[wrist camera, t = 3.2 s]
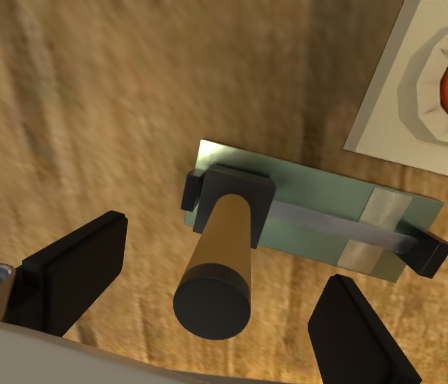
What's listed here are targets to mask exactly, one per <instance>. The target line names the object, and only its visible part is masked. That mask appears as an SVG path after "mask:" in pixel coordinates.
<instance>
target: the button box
mask: <svg viewBox="0 0 448 384" xmlns="http://www.w3.org/2000/svg"><path fill="white" fill-rule="evenodd" d="M447 69H448V0H404V3H403V5H402V8H401V10H400V12H399V15H398V17H397V20H396V22H395V25H394V27H393V29H392V32H391V34H390V37H389V39H388V41H387V44H386V46H385V49H384V51H383V53H382V56H381V58H380V61H379V63H378V66H377V68H376V70H375V73H374V75H373V78H372V80H371V82H370V85H369V87H368V90H367V92H366V94H365V97H364V99H363V102H362V104H361V107H360V109H359V111H358V114H357V116H356V119H355V121H354V123H353V126H352V128H351V131H350V133H349V135H348V138H347V140H346V143H345V145H344V148H343V149H344V150H348V151H352V152H356V153H360V154H364V155H367V156H371V157H375V158H379V159H383V160H387V161H391V162H395V163H399V164H403V165H406V166H410V167H414V168H418V169H422V170H426V171H430V172H434V173H438V174H441V175H445V176H448V112H447V110H446V109H445V107H444V106H443V103H442V100H441V84H442V81H443V77H444V75H445V73H446V71H447Z"/></svg>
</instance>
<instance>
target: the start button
mask: <svg viewBox="0 0 448 384" xmlns="http://www.w3.org/2000/svg"><path fill="white" fill-rule="evenodd" d="M441 100H442V103H443V106H444V107H445V109H446V110H447V112H448V69H447V71H446V73H445V75H444V77H443V81H442V84H441Z"/></svg>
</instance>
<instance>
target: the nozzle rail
mask: <svg viewBox="0 0 448 384" xmlns="http://www.w3.org/2000/svg"><path fill="white" fill-rule="evenodd" d="M211 164H216V165H220V166H223V167H227V168H231V169H235V170H238V171H242V172H246V173H250V174H253V175H257V176H261V177H265V178H269V179H272V180H273V181H274V183H275V185H276V188H277V189H276V192H275V195H274V198H273V201H272V204H271V207H270V210H269V213H268V216H267V219H266V222H265V225H264V227H263V230H262V233H261V236H260V239H259V242H258V245H262V246H265V247H269V248H272V249H276V250H279V251H283V252H287V253H290V254H294V255H297V256H301V257H304V258H308V259H312V260H315V261H319V262H322V263H326V264H330V265H333V266H337V267H340V268H344V269H347V270H351V271H355V272H358V273H362V274H365V275H369V276H372V277H376V278H380V279H383V280H387V281H390V282H394V283H396V281H397V280H398V278H399V276H400V275H401V273H402V272H403V270H404V268H405V267H406V265H408V266H409V267H410V268H411V269H413V270H414V271H415V272H416V273H417V274H418V275H420V276H424V277H427V278H431V279H432V278H433V276H434V275H435V273H436V272H437V271H438V269H439V268H440V266H441V265H442V263H443V262H444V260H445V259H446V257H447V256H448V242H447V241H445V240H443V239H442V238H440V237H438V236H436V235H435V234H433V233H431V232H430V231H428V229H429V227H430V226H431V224H432V223H433V221H434V219H435V218H436V216H437V214H438V213H439V211H440V209H441V208H442V206H443V205H444V202H441V201H438V200H436V199H433V198H430V197H426V196H422V195H418V194H415V193H411V192H407V191H403V190H399V189H395V188H392V187H388V186H384V185H380V184H376V183H373V182H369V181H365V180H361V179H357V178H353V177H350V176H346V175H342V174H338V173H334V172H330V171H327V170H323V169H319V168H315V167H311V166H308V165H304V164H300V163H296V162H292V161H288V160H285V159H281V158H277V157H273V156H269V155H265V154H262V153H258V152H254V151H250V150H246V149H243V148H239V147H235V146H231V145H227V144H223V143H220V142H216V141H212V140H208V139H201V142H200V147H199V152H198V157H197V161H196V166H195V169H193V170H192V171H191V172H189V173H188V174H187V178H186V183H185V188H184V194H183V199H182V204H181V209H182V210H185V211H186V215H185V220H184V224H186V225H190V226H194V222H195V218H196V213H197V209H198V204H199V200H200V195H201V191H202V186H203V182H204V177H205V173H206V169H207V168H208V167H209V166H210V165H211Z"/></svg>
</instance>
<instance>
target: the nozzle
mask: <svg viewBox="0 0 448 384" xmlns="http://www.w3.org/2000/svg"><path fill="white" fill-rule="evenodd" d="M276 189H277V188H276V185H275V183H274V181H273V180H272V179H269V178H265V177H261V176H257V175H253V174H250V173H246V172H242V171H238V170H235V169H231V168H227V167H223V166H220V165H216V164H211V165H210V166H209V167H208V168H207V169H206V173H205V177H204V182H203V186H202V191H201V195H200V200H199V204H198V209H197V213H196V218H195V222H194V227H193V232H196V233H200V234H202V235H201V237H200V239H199V242H198V244H197V246H196V248H195V250H194V253H193V255H192V257H191V259H190V261H189V264H188V266H187V268H186V270H185V272H184V275H183V277H182V279H181V281H180V283H179V286H178V288H177V290H176V292H175V295H174V298H173V309H174V313H175V316H176V317H177V319H178V321H179V322H180V324H181V325H182V326H183V327H184V328H185V329H186V330H188V331H189V332H191V333H192V334H194V335H196V336H198V337H201V338H205V339H209V340H224V339H228V338H231V337H234V336H236V335H237V334H239V333H240V332H242V330H243V329H244V328H245V327H246V325H247V324H248V322H249V319H250V314H251V248H253V249H256V248H257V245H258V242H259V239H260V236H261V233H262V230H263V227H264V225H265V222H266V219H267V216H268V213H269V210H270V207H271V204H272V201H273V198H274V195H275V192H276Z"/></svg>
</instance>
